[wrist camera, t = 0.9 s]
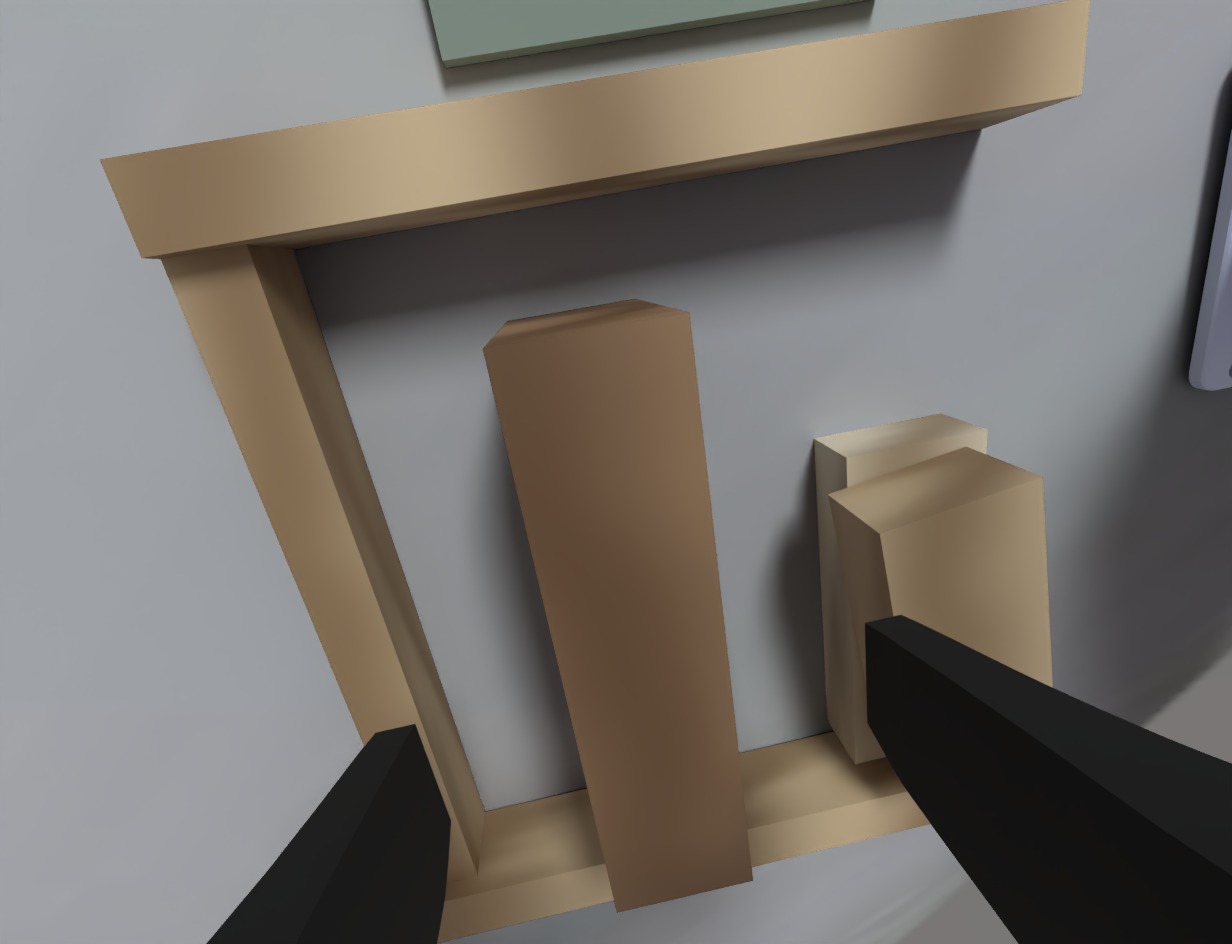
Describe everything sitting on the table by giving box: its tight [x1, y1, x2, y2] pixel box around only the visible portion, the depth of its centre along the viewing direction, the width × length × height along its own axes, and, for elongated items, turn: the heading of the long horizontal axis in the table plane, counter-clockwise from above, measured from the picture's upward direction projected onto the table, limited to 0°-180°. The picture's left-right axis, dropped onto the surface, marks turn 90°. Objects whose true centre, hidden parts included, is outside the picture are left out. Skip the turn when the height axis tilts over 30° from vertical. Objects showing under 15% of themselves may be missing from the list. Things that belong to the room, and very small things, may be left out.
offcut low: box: [814, 414, 987, 764], centre depth 16 cm, size 4×10×2 cm, turn 10°
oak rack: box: [100, 0, 1090, 943], centre depth 14 cm, size 17×20×2 cm
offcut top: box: [828, 447, 1053, 688], centre depth 14 cm, size 4×8×2 cm, turn 18°
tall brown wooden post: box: [483, 299, 753, 913], centre depth 13 cm, size 3×12×6 cm, turn 9°
